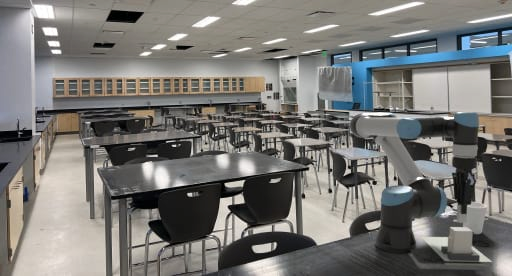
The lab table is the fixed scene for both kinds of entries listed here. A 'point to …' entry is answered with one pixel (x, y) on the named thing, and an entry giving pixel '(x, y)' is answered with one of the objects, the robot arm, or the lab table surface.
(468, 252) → the plug
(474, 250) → the board
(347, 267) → the lab table surface
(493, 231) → the lab table surface
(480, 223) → the foam cup
